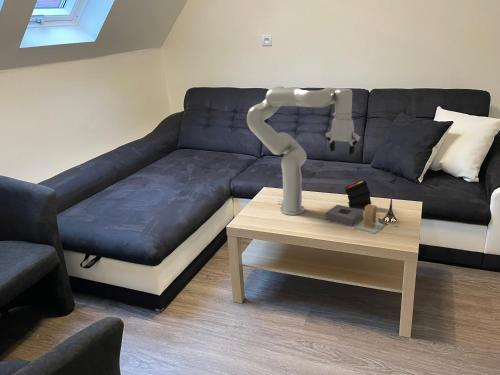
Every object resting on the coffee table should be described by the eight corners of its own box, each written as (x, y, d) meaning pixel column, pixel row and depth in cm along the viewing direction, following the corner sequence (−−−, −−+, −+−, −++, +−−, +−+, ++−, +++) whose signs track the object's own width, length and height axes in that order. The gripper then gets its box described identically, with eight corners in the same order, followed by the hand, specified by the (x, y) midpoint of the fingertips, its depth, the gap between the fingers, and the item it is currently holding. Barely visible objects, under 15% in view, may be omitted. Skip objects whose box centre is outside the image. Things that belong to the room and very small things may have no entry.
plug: (363, 226, 201) (364, 206, 198) (367, 223, 204) (368, 204, 200) (371, 228, 199) (373, 208, 195) (375, 225, 202) (376, 205, 198)
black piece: (377, 205, 221) (365, 181, 217) (353, 215, 224) (341, 191, 220) (376, 203, 224) (364, 178, 220) (352, 212, 228) (340, 188, 224)
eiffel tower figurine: (377, 214, 216) (378, 189, 212) (398, 215, 214) (400, 190, 210) (378, 226, 203) (380, 200, 198) (400, 228, 200) (403, 201, 196)
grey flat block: (325, 219, 211) (325, 212, 210) (337, 211, 220) (337, 204, 218) (352, 226, 203) (352, 218, 201) (362, 217, 211) (363, 210, 210)
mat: (355, 228, 201) (355, 227, 201) (364, 220, 208) (364, 219, 208) (375, 233, 195) (375, 232, 195) (384, 225, 202) (384, 224, 202)
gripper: (322, 116, 199) (321, 151, 205) (357, 119, 189) (355, 156, 194) (330, 113, 204) (329, 148, 210) (364, 116, 194) (362, 152, 200)
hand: (341, 152), depth 202 cm, fingers open, 9 cm apart
